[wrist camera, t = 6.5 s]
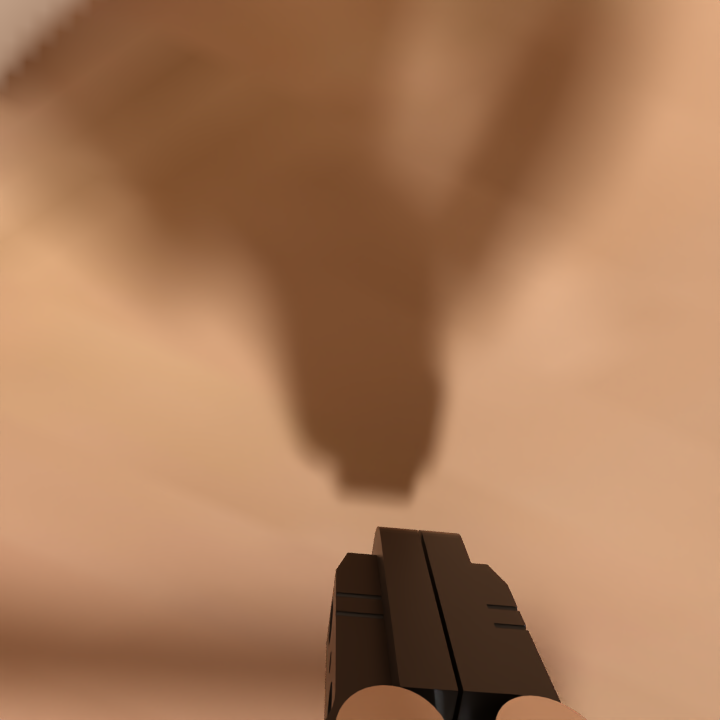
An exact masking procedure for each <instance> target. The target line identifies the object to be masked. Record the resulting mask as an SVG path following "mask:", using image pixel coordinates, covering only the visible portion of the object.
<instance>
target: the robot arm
mask: <svg viewBox="0 0 720 720" xmlns="http://www.w3.org/2000/svg"><path fill="white" fill-rule="evenodd" d="M325 689H326V690H325V717H324V720H586V719H585V718H584V717H583V716H581V715H580V714H579V713H577V712H576V711H574V710H573V709H571V708H569V707H568V706H566V705H564V704H562V703H561V702H560V700H559V698H558V695H557V693H556V691H555V689H554V686H553V684H552V682H551V680H550V678H549V675H548V673H547V671H546V669H545V667H544V664H543V662H542V660H541V658H540V656H539V653H538V651H537V649H536V647H535V645H534V642H533V640H532V638H531V636H530V634H529V631H528V630H526V625H525V623H524V620H523V618H522V616H521V614H520V612H519V611H517V605H516V603H515V601H514V598H513V596H512V594H511V592H510V590H509V587H508V585H507V584H506V583H505V582H504V581H503V580H502V579H501V578H500V577H499V576H498V575H497V574H496V573H495V572H494V571H493V570H492V569H491V568H490V567H489V566H488V565H486V564H474V563H471V562H470V559H469V556H468V554H467V551H466V548H465V546H464V543H463V541H462V538H461V536H460V535H459V534H456V533H445V532H434V531H423V530H419V531H417V530H410V529H399V528H388V527H377V529H376V532H375V538H374V544H373V551H372V555H369V554H358V553H347V555H346V556H345V558H344V559H343V560H342V562H341V563H340V565H339V566H338V568H337V569H336V574H335V582H334V589H333V597H332V604H331V612H330V620H329V627H328V635H327V642H326V679H325Z"/></svg>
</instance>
